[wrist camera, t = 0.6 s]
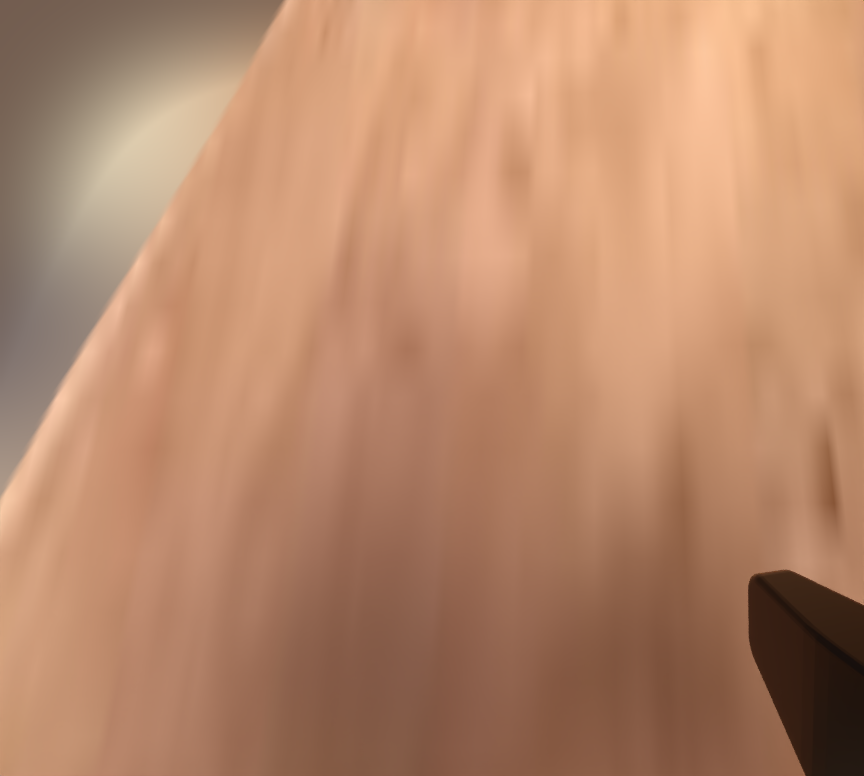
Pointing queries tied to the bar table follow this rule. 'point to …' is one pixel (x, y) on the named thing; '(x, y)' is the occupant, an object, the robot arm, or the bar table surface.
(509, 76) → the bar table surface
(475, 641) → the bar table surface
